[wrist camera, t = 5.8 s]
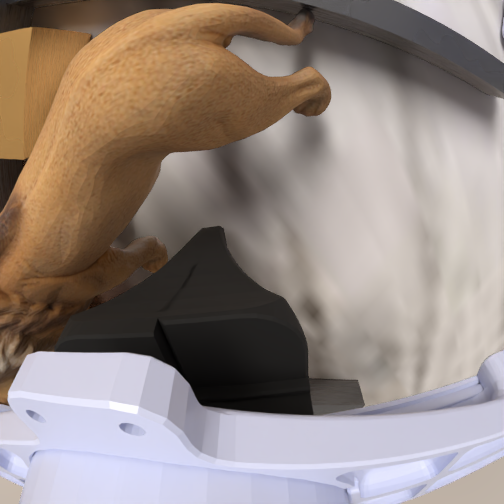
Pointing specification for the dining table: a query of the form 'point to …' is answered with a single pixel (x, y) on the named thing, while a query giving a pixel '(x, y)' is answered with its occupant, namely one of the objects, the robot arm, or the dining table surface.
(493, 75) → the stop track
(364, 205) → the dining table surface
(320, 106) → the lion figurine
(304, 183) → the dining table surface
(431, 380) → the dining table surface
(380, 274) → the dining table surface
